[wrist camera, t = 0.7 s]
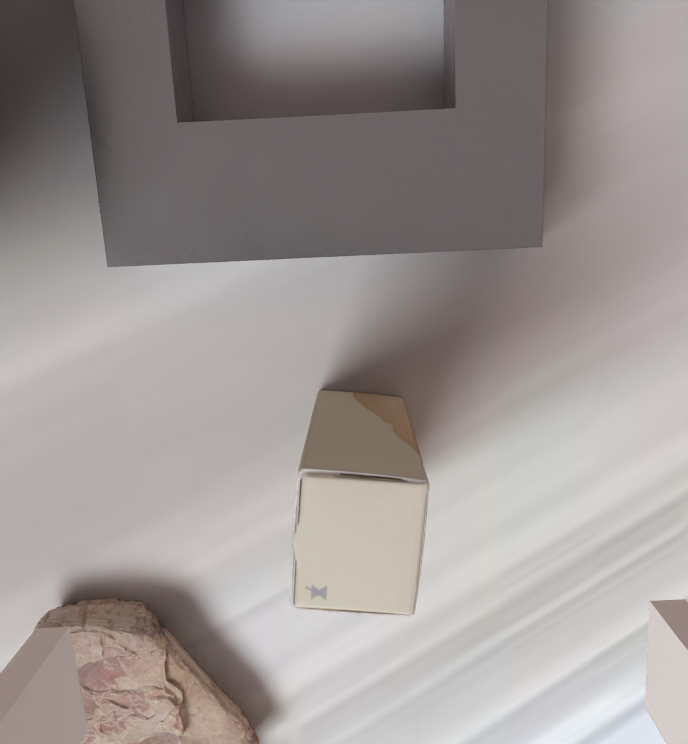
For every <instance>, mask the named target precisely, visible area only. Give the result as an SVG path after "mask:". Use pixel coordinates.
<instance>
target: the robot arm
mask: <svg viewBox="0 0 688 744" xmlns="http://www.w3.org/2000/svg"><path fill="white" fill-rule="evenodd" d="M645 708H646V710H647V712H648V713H649V715H650V717H651V719H652V720H653V722H654V724H655V725H656V727H657V729H658V730H659V732H660V734H661V736H662V737H663V739H664V741H665V742H666V744H688V602H687V601H686V600H663V601H650V608H649V630H648V652H647V674H646V696H645ZM87 729H88V727H87V722H86V716H85V711H84V705H83V700H82V694H81V689H80V683H79V678H78V672H77V667H76V662H75V656H74V651H73V645H72V640H71V634H70V629H69V627H56V628H36V630H35V631H34V632H33V633H32V635H31V636H30V637H29V638H28V640H27V641H26V642H25V643H24V645H23V646H22V647H21V648H20V650H19V651H18V652H17V653H16V655H15V656H14V657H13V658H12V660H11V661H10V662H9V664H8V665H7V666H6V667H5V669H4V670H3V671H2V672H1V674H0V744H80V742H81V740H82V739H83V737H84V735H85V733H86V731H87Z"/></svg>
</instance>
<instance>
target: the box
mask: <svg viewBox="0 0 688 744" xmlns="http://www.w3.org/2000/svg"><path fill="white" fill-rule="evenodd" d="M428 492H429V482H428V479H427V476H426V473H425V469H424V466H423V462H422V459H421V456H420V452H419V449H418V445H417V442H416V439H415V435H414V432H413V428H412V424H411V421H410V418H409V415H408V412H407V409H406V405H405V402H404V399H403V398H402V397H396V396H387V395H378V394H369V393H357V392H345V391H330V390H320V391H319V392H318V394H317V398H316V402H315V406H314V410H313V413H312V417H311V421H310V426H309V429H308V434H307V438H306V441H305V445H304V449H303V453H302V457H301V461H300V466H299V470H298V474H297V486H296V498H295V511H294V528H293V544H292V568H291V594H290V604H291V607H292V608H294V609H306V610H318V611H329V612H343V613H356V614H373V615H396V616H412V615H414V612H415V607H416V601H417V594H418V587H419V580H420V573H421V565H422V555H423V547H424V538H425V526H426V517H427V504H428Z"/></svg>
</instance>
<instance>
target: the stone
mask: <svg viewBox="0 0 688 744" xmlns="http://www.w3.org/2000/svg"><path fill="white" fill-rule="evenodd" d="M56 627H69V629H70V634H71V640H72V645H73V651H74V656H75V662H76V667H77V672H78V678H79V683H80V689H81V694H82V700H83V705H84V711H85V716H86V722H87V727H88V729H87V731H86V733H85V735H84V737H83V739H82V740H81V742H80V744H259V740H258V737H257V735H256V733H255V730H252V729H251V727H250V725H249V722H248V718H247V717H246V716H245V714H244V713H243V712H242V711H241V710H240V709H239V708H238V707H237V706H236V704H235V703H234V702H233V701H231V700H230V699H229V698H228V697H227V695H226V694H225V693H224V692H223V691H222V690H221V689H220V688H219V687H218V686H217V685H216V684H215V683H214V682H213V680H212V679H211V678H210V677H209V676H208V675H207V674H206V673H205V672H204V671H203V670H202V669H201V668H200V666H199V665H198V664H197V663H196V662H195V661H194V660H193V658H192V657H191V656H190V655H189V654H188V653H187V652H186V651H185V649H184V648H183V647H182V646H181V645H180V644H179V642H178V641H177V640H176V639H175V638H174V637H173V635H172V634H171V633H170V632H169V631H168V630H167V629H166V628H165V627H164V626H163V625H161V624H160V622H159V621H158V620H157V618H156V617H155V615H154V614H152V612H151V611H150V610H149V609H148V608H147V607H146V606H145V604H144V603H143V602H142V601H140V602H139V601H135V600H133V601H128V602H126V601H123V600H118V599H117V598H106V599H103V600H102V599H95V600H91V601H89V600H83V601H80V602H78V603H76V604H75V605H72V604H69V605H67V606H65V607H57V608H56V609H53V610H50V611H48V612H47V613H46V614H45V615H44V616H43V617H42V618H41V620H40V621H39V623H38V624H37V626H36V627H35V629H34V631H35V630H36V628H56Z"/></svg>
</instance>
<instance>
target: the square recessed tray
mask: <svg viewBox="0 0 688 744" xmlns="http://www.w3.org/2000/svg"><path fill="white" fill-rule="evenodd" d="M73 1H74V9H75V17H76V25H77V32H78V40H79V48H80V56H81V64H82V71H83V79H84V87H85V95H86V103H87V110H88V118H89V126H90V134H91V142H92V149H93V157H94V165H95V173H96V181H97V188H98V196H99V204H100V212H101V220H102V227H103V235H104V243H105V251H106V259H107V266H108V267H119V266H141V265H162V264H184V263H205V262H227V261H248V260H270V259H291V258H312V257H334V256H355V255H377V254H398V253H420V252H441V251H463V250H484V249H506V248H527V247H542V242H543V198H544V153H545V109H546V64H547V20H548V0H444V60H445V109H431V110H411V111H392V112H373V113H354V114H335V115H316V116H297V117H277V118H258V119H239V120H220V121H201V122H194V114H193V104H192V93H191V82H190V72H189V61H188V50H187V40H186V29H185V18H184V7H183V0H73Z"/></svg>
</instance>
